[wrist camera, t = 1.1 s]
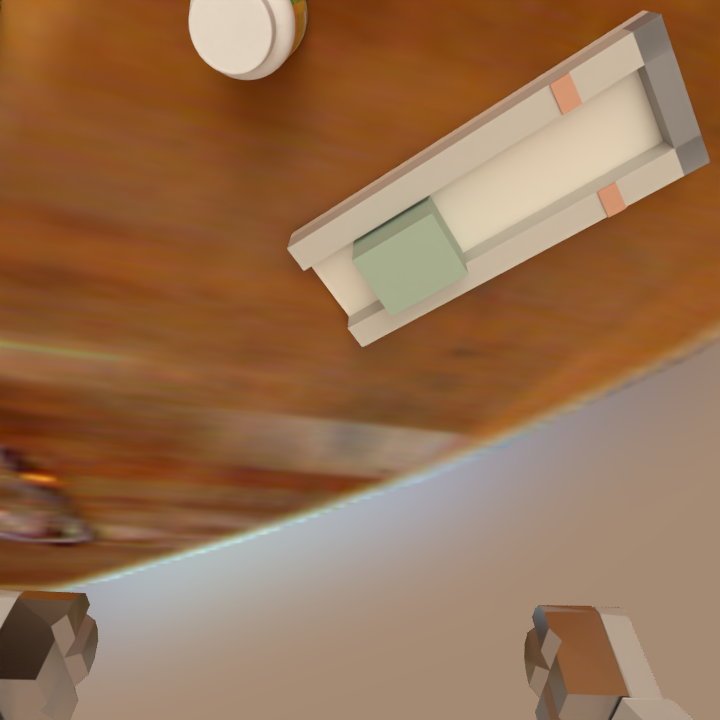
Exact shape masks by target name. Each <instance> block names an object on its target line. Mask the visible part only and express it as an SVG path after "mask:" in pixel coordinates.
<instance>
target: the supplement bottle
mask: <svg viewBox="0 0 720 720" xmlns="http://www.w3.org/2000/svg"><path fill="white" fill-rule="evenodd" d="M306 26H307V6H306V1H305V0H191V2H190V12H189V31H190V36H191V39H192V42H193V44H194V47H195V49H196V50H197V52H198V54H199V55H200V56H201V57H202V59H203V60H204V61H205V62H206V63H207V64H208V65H210V66H211V67H212V68H214V69H216V70H217V71H220V72H221V73H223V74H225V75H227V76H229V77H232V78H235V79H240V80H255V79H260V78H263V77H265V76H267V75H269V74H271V73H273V72H274V71H275V70H277V69H278V68H279V67H280V66H281V65H282V64H283V63H284V62H285V61H286V60H287V59H288V58H289V57H290V55H291V54H292V53H293V52H294V51H295V50H296V49H297V48H298V46H299V44H300V43H301V41H302V39H303V37H304V34H305V31H306Z"/></svg>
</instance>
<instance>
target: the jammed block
mask: <svg viewBox="0 0 720 720" xmlns="http://www.w3.org/2000/svg"><path fill="white" fill-rule="evenodd" d="M352 262H353V263H354V265H355V266H356V267H357V269H358V270H359V272H360V273H361V274H362V276H363V277H364V279H365V280H366V281H367V283H368V284H369V286H370V287H371V289H372V290H373V291H374V293H375V294H376V296H377V297H378V298H379V300H380V301H381V303H382V304H383V305H384V307H385V308H386V310H387V311H388V312H389V314H390V315H391V317H392V316H394V315H396V314H398V313H399V312H401V311H403V310H405V309H407V308H409V307H410V306H412V305H414V304H416V303H418V302H420V301H421V300H423V299H425V298H427V297H429V296H431V295H433V294H434V293H436V292H438V291H440V290H442V289H444V288H445V287H447V286H449V285H451V284H453V283H455V282H456V281H458V280H460V279H462V278H464V277H466V276H468V275H469V274H468V270H467V266H466V262H465V259H464V255H463V251H462V249H461V247H460V246H459V244H458V242H457V241H456V239H455V237H454V236H453V234H452V232H451V231H450V229H449V227H448V226H447V224H446V222H445V221H444V219H443V217H442V216H441V214H440V212H439V211H438V209H437V207H436V206H435V204H434V202H433V201H432V199H431V197H430V196H427V197H425V198H424V199H422V200H420V201H419V202H417V203H416V204H414V205H412V206H411V207H409V208H407V209H406V210H404V211H402V212H401V213H399V214H397V215H396V216H394V217H392V218H391V219H389V220H387V221H386V222H384V223H382V224H381V225H379V226H378V227H376V228H374V229H373V230H371V231H369V232H368V233H366V234H364V235H363V236H361V237H359V238H358V239H356V240H354V243H353V253H352Z"/></svg>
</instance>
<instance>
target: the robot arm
mask: <svg viewBox="0 0 720 720" xmlns="http://www.w3.org/2000/svg"><path fill="white" fill-rule="evenodd" d="M89 606H90V604H89V601H88V598H87V596H86V593H69V592H45V591H28V590H0V720H71V717H72V714H73V712H74V710H75V707H76V704H77V702H78V697H77V694H76V691H75V686H76V685H77V684H78V683H80V682H81V681H82V680H83V679H84V678H85V677H86V676H87V675H88V674H89V672H90V669H91V667H92V664H93V661H94V658H95V653H96V648H97V643H98V629H97V625H96V622H95V620H94V619H92V618H91V617H90V616H89V615H87V614H86V613H87V610H88V608H89ZM532 618H533V622H534V626H535V627H534V628H533V629H532V630H530V631H529V632H528V633H527V637H526V641H525V652H524V659H525V668H526V674H527V679H528V683H529V687H530V688H531V689H532V690H533V691H534V692H535V693H536V694H537V695H538V697H539V698H540V699H539V702H538V705H537V708H536V711H535V713H536V717H537V720H693V719H692V718H691V717H690V716H689V715H688V714H687V713H686V712H685V711H684V710H683V709H681V708H680V707H679V706H678V705H677V704H676V703H675V702H674V701H673V700H672V699H665V698H663V697H662V695H661V693H660V690H659V688H658V686H657V683H656V681H655V679H654V677H653V674H652V672H651V669H650V667H649V664H648V662H647V660H646V657H645V655H644V653H643V651H642V648H641V646H640V644H639V641H638V638H637V636H636V634H635V631H634V629H633V627H632V624H631V622H630V620H629V617H628V615H627V613H626V612H625V611H624V610H623V609H622V608H619V607H591V606H553V605H547V606H546V605H539V606H537V607H536V608H535V610H534V613H533V616H532Z"/></svg>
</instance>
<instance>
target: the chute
mask: <svg viewBox="0 0 720 720" xmlns="http://www.w3.org/2000/svg"><path fill="white" fill-rule="evenodd" d="M709 162H710V160H709V157H708V154H707V151H706V148H705V145H704V142H703V139H702V136H701V133H700V130H699V127H698V124H697V121H696V118H695V115H694V112H693V109H692V106H691V103H690V100H689V97H688V94H687V91H686V87H685V84H684V81H683V78H682V75H681V72H680V69H679V66H678V63H677V60H676V57H675V54H674V51H673V48H672V45H671V42H670V39H669V36H668V33H667V30H666V27H665V24H664V21H663V18H662V15H661V14H658V13H653V12H649V11H644V10H643V11H641V12H640V13H638V14H636V15H635V16H633V17H632V18H630V19H629V20H627V21H625V22H624V23H622V24H621V25H619V26H618V27H616V28H614V29H613V30H611V31H610V32H608V33H606V34H605V35H603V36H602V37H600V38H599V39H597V40H595V41H594V42H592V43H591V44H589V45H588V46H586V47H584V48H583V49H581V50H580V51H578V52H577V53H575V54H573V55H572V56H570V57H569V58H567V59H566V60H564V61H562V62H561V63H559V64H558V65H556V66H555V67H553V68H551V69H550V70H548V71H547V72H545V73H544V74H542V75H540V76H539V77H537V78H536V79H534V80H533V81H531V82H529V83H528V84H526V85H525V86H523V87H522V88H520V89H518V90H517V91H515V92H514V93H512V94H511V95H509V96H507V97H506V98H504V99H503V100H501V101H500V102H498V103H496V104H495V105H493V106H492V107H490V108H489V109H487V110H485V111H484V112H482V113H481V114H479V115H478V116H476V117H474V118H473V119H471V120H470V121H468V122H467V123H465V124H463V125H462V126H460V127H459V128H457V129H456V130H454V131H452V132H451V133H449V134H448V135H446V136H444V137H443V138H441V139H440V140H438V141H437V142H435V143H433V144H432V145H430V146H429V147H427V148H426V149H424V150H422V151H421V152H419V153H418V154H416V155H415V156H413V157H411V158H410V159H408V160H407V161H405V162H404V163H402V164H400V165H399V166H397V167H396V168H394V169H393V170H391V171H389V172H388V173H386V174H385V175H383V176H382V177H380V178H378V179H377V180H375V181H374V182H372V183H371V184H369V185H367V186H366V187H364V188H363V189H361V190H360V191H358V192H356V193H355V194H353V195H352V196H350V197H349V198H347V199H345V200H344V201H342V202H341V203H339V204H338V205H336V206H334V207H333V208H331V209H330V210H328V211H327V212H325V213H323V214H322V215H320V216H319V217H317V218H316V219H314V220H312V221H311V222H309V223H308V224H306V225H305V226H303V227H301V228H300V229H298V230H297V231H295V232H293V233H292V235H291V238H290V241H289V244H288V247H287V249H288V251H289V252H290V253H291V255H292V256H293V257H294V259H295V260H296V261H297V263H298V264H299V265H300V266H301V268H302V269H303V270H304V271H305V270H306V269H308V268H310V267H312V268H313V269H314V271H315V272H316V273H317V275H318V276H319V277H320V279H321V280H322V281H323V283H324V284H325V285H326V287H327V288H328V289H329V291H330V292H331V293H332V295H333V296H334V297H335V299H336V300H337V301H338V303H339V304H340V305H341V307H342V308H343V309H344V311H345V312H346V313H347V315H348V316H349V321H348V329H349V331H350V332H351V333H352V335H353V336H354V337H355V338H356V340H357V341H358V342H359V344H360V345H361V346H362V347H364V346H366V345H368V344H370V343H372V342H373V341H375V340H377V339H379V338H381V337H383V336H385V335H387V334H388V333H390V332H392V331H394V330H396V329H398V328H400V327H402V326H403V325H405V324H407V323H409V322H411V321H413V320H415V319H417V318H418V317H420V316H422V315H424V314H426V313H428V312H430V311H432V310H433V309H435V308H437V307H439V306H441V305H443V304H445V303H447V302H448V301H450V300H452V299H454V298H456V297H458V296H460V295H462V294H463V293H465V292H467V291H469V290H471V289H473V288H475V287H477V286H478V285H480V284H482V283H484V282H486V281H488V280H490V279H492V278H493V277H495V276H497V275H499V274H501V273H503V272H505V271H507V270H508V269H510V268H512V267H514V266H516V265H518V264H520V263H522V262H524V261H525V260H527V259H529V258H531V257H533V256H535V255H537V254H539V253H540V252H542V251H544V250H546V249H548V248H550V247H552V246H554V245H555V244H557V243H559V242H561V241H563V240H565V239H567V238H569V237H570V236H572V235H574V234H576V233H578V232H580V231H582V230H584V229H585V228H587V227H589V226H591V225H593V224H595V223H597V222H599V221H600V220H602V219H604V218H606V217H611V216H613V215H615V214H617V213H618V212H620V211H622V210H624V209H626V207H627V206H629V205H630V204H632V203H634V202H636V201H638V200H640V199H642V198H644V197H645V196H647V195H649V194H651V193H653V192H655V191H657V190H659V189H660V188H662V187H664V186H666V185H668V184H670V183H672V182H674V181H676V180H677V179H679V178H681V177H683V176H685V175H687V174H689V173H691V172H692V171H694V170H696V169H698V168H700V167H702V166H704V165H706V164H707V163H709ZM427 196H430V197H431V199H432V201H433V202H434V204H435V206H436V207H437V209H438V211H439V212H440V214H441V216H442V217H443V219H444V221H445V222H446V224H447V226H448V227H449V229H450V231H451V232H452V234H453V236H454V237H455V239H456V241H457V242H458V244H459V246H460V247H461V249H462V251H463V255H464V259H465V262H466V266H467V270H468V274H469V275H468V276H466V277H464V278H462V279H460V280H458V281H456V282H455V283H453V284H451V285H449V286H447V287H445V288H444V289H442V290H440V291H438V292H436V293H434V294H433V295H431V296H429V297H427V298H425V299H423V300H421V301H420V302H418V303H416V304H414V305H412V306H410V307H409V308H407V309H405V310H403V311H401V312H399V313H398V314H396V315H394V316H392V317H391V315H390V314H389V312H388V311H387V310H386V308H385V307H384V305H383V304H382V303H381V301H380V300H379V298H378V297H377V296H376V294H375V293H374V291H373V290H372V289H371V287H370V286H369V284H368V283H367V281H366V280H365V279H364V277H363V276H362V274H361V273H360V272H359V270H358V269H357V267H356V266H355V265H354V263H353V262H352V253H353V243H354V240H356V239H358V238H359V237H361V236H363V235H364V234H366V233H368V232H369V231H371V230H373V229H374V228H376V227H378V226H379V225H381V224H382V223H384V222H386V221H387V220H389V219H391V218H392V217H394V216H396V215H397V214H399V213H401V212H402V211H404V210H406V209H407V208H409V207H411V206H412V205H414V204H416V203H417V202H419V201H420V200H422V199H424V198H425V197H427Z"/></svg>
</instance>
